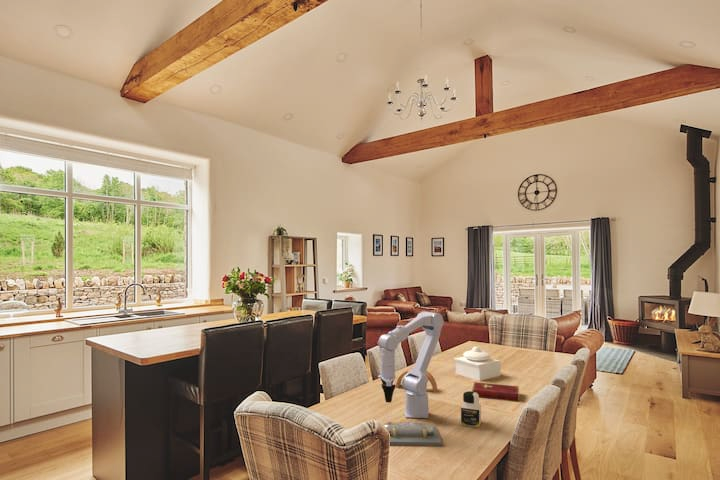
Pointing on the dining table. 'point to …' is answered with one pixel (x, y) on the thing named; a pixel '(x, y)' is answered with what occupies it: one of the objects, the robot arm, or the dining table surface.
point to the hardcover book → (496, 391)
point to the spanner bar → (410, 428)
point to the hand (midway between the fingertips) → (388, 398)
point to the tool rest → (416, 439)
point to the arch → (426, 375)
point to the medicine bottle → (471, 409)
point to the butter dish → (477, 365)
